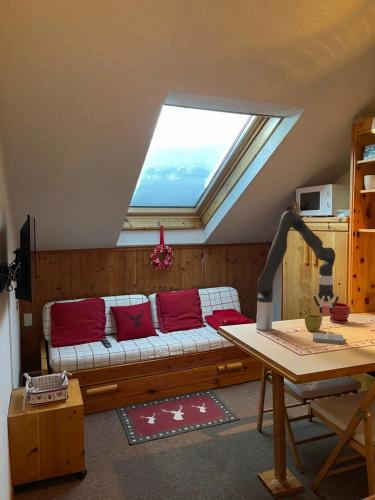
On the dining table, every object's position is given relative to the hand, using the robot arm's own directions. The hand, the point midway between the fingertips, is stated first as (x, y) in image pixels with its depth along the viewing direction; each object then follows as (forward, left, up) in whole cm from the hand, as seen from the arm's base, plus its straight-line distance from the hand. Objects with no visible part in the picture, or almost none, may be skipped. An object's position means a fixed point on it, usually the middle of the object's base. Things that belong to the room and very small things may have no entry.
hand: (325, 313), depth 224 cm
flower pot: (-7, +19, -15) cm, 25 cm away
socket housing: (0, 0, 0) cm, 0 cm away
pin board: (+1, 0, -15) cm, 15 cm away
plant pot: (+9, +46, -15) cm, 49 cm away
